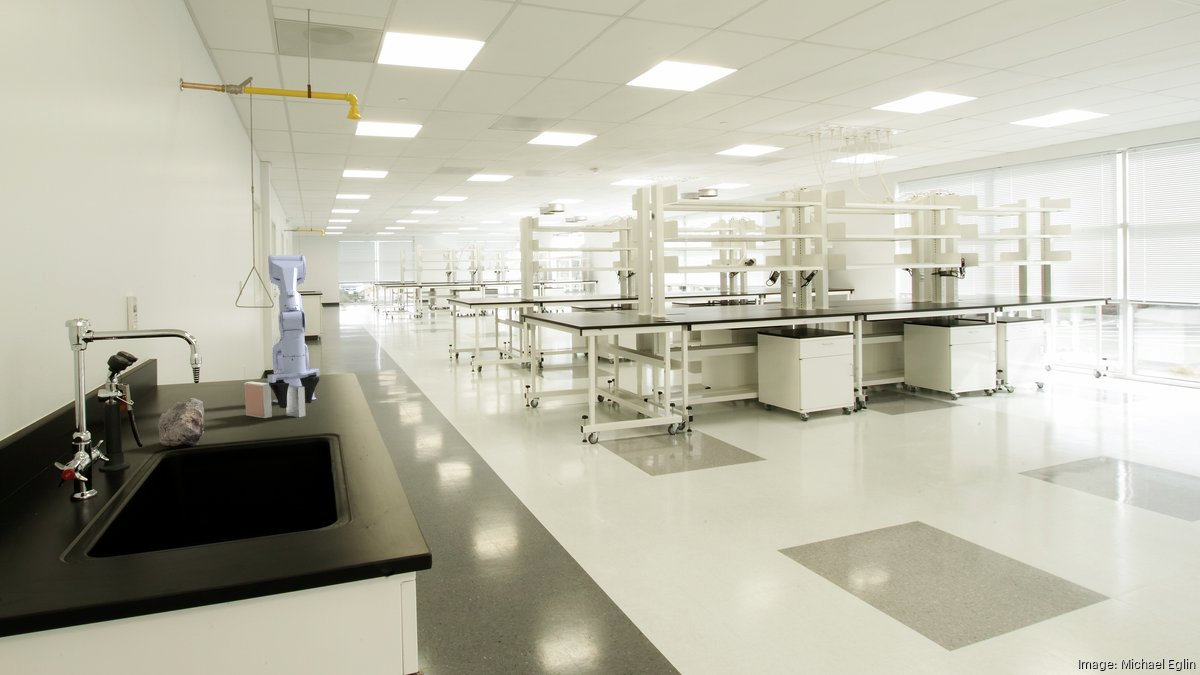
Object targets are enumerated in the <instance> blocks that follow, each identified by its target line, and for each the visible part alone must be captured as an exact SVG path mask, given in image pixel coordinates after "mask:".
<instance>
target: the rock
mask: <svg viewBox="0 0 1200 675" xmlns="http://www.w3.org/2000/svg"><path fill="white" fill-rule="evenodd" d="M204 415H205V408H204V402H203V401H202V400H200V399H198V398H195V397H192V398H191V397H190V398H189V399H188V400H187V401H186V402H185V401H183V402H180V401H177V402H175V403H174V404H173V405H172V406H171V407H169V408H168V409H167V411H166V412H163V413H161V415H160V417H159V419H158V420H159V421H158V426H157V427H158V435H159V437H158V438H159V442H160V444H161V445H162V446H163V445H164V446H167V447H168V446H169V447H170V446H172V447H175V446H176V447H177V446H181V445H188V446H198V445H199V444H200V442H199V441H200V438H202V436H203V435H204V432H205V431H204V430H205V425H204Z"/></svg>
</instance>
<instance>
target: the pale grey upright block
mask: <svg viewBox="0 0 1200 675" xmlns="http://www.w3.org/2000/svg"><path fill="white" fill-rule="evenodd" d="M285 409H286V416H289V417H295V418H301V417H306V403H305V390H304V387H302V386H294V385H291V386H289V387H288V392H287V408H285Z"/></svg>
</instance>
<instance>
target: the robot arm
mask: <svg viewBox="0 0 1200 675" xmlns="http://www.w3.org/2000/svg"><path fill="white" fill-rule="evenodd" d="M267 257H268V258H267V259H268V261H267V262H268V274H269V281H270V283H271V284H274V285H276V286H277V288H278V291H279V295H278V308H279V313H278V316H277V317H278V318H277V319H278V330H279V334H280V336H279V337H280V341H278V342H276V343H275V344H274V345H273V347H272V354H271V355H272V370H273V371H274V372H276V373H272V374H267V383H268V384H269V386H270V387H271V391H273V393H274V395H275V398H276V399H273V400H272V403H278V407H279V408H280V409H286V408H287V392H288V387H289V386H291V385H294V386H302V387H304V390H305V404H311V403H312V401H314V400H317V397H315V389H316V387H317V386H318V383H319V382H320V377H319V376H320V368H314V367H313V368H310V358H309V357H310V356H309V355H310V354H309V348H308V346H307V343H305V342H306V341H305V333H306V331H307V330H306V329H307V319H306V312H305V310H304V308H303V299H302V295H301V293H300V292H298V291H297V288H298V286H300V285H301V284H303V283H304V282H305V280H306V275H307V266H306V265H307V264H306V263H307V261H306V256H304V254H303V255H302V254H301V255H294V254H293V255H287V254H286V255H283V254H282V255H281V254H269V255H268V256H267Z"/></svg>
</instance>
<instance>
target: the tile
mask: <svg viewBox="0 0 1200 675" xmlns="http://www.w3.org/2000/svg"><path fill="white" fill-rule="evenodd" d="M244 399H245V400H244V402H245V416H250V417H254V418H255V417H256V418H263V419H267V418H272V417H273V412H272V411H273V410H272V409H273V408H272V389H271V387H270V386H269V382H267V383H266V382H260V381H259V382H257V381H247V382H244Z"/></svg>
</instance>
